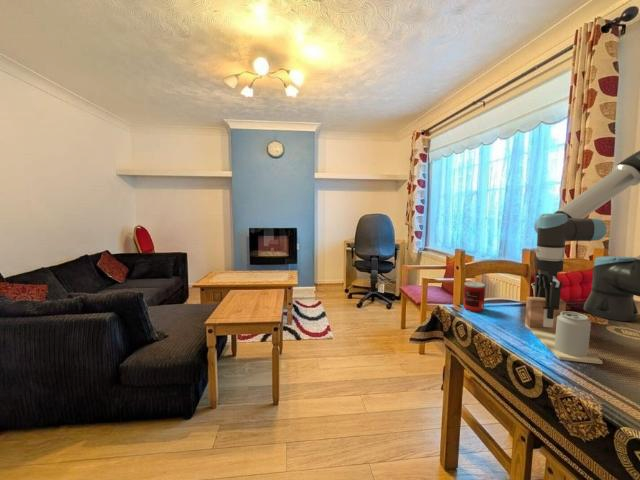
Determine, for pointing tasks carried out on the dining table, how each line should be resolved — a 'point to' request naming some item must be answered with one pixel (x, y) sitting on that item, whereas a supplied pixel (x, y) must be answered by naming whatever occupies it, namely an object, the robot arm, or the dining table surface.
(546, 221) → the robot arm
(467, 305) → the canned food
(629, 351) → the dining table surface
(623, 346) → the dining table surface
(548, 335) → the wooden bracket
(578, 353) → the can
